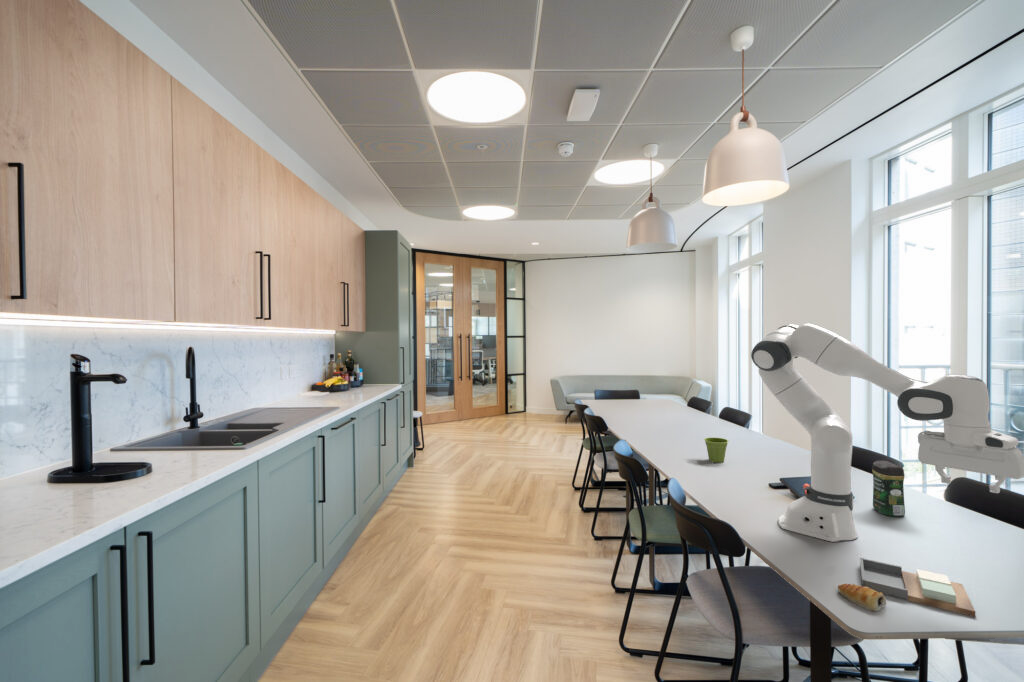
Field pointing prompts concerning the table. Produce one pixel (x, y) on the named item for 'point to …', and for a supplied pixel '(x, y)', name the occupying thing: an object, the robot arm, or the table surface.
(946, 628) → the table surface
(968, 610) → the board
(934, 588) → the tile sage
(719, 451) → the plant pot
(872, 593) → the pastry
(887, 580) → the tray
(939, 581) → the tile cream
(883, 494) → the coffee jar
